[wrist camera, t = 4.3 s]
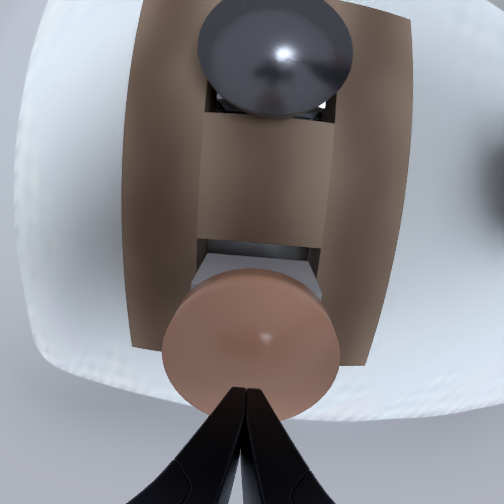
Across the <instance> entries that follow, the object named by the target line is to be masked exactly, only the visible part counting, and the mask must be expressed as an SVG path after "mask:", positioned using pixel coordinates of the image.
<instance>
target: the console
mask: <svg viewBox="0 0 504 504" xmlns="http://www.w3.org/2000/svg"><path fill="white" fill-rule="evenodd" d="M221 1H222V0H143V4H142V9H141V13H140V18H139V23H138V28H137V33H136V38H135V44H134V50H133V56H132V63H131V69H130V77H129V85H128V93H127V102H126V113H125V124H124V139H123V158H122V243H123V262H124V277H125V289H126V300H127V310H128V318H129V327H130V334H131V342H132V347H137V348H143V349H149V350H155V351H161V352H162V345H163V339H164V336H165V333H166V330H167V328H168V326H169V324H170V322H171V320H172V318H173V317H174V315H175V313H176V311H177V309H178V307H179V305H180V303H181V302H182V300H183V299H184V298H185V296H186V295H187V294H188V293H189V292H190V291H191V282H192V281H193V279H194V277H195V275H196V273H197V271H198V270H199V268H200V266H201V264H202V262H203V260H204V259H205V257H206V255H207V253H208V239H214V240H227V241H239V242H251V243H263V244H275V245H287V246H298V247H308V254H307V261H308V262H309V264H310V266H311V269H312V271H313V273H314V276H315V278H316V280H317V283H318V285H319V288H320V290H321V292H322V298H321V302H322V303H323V305H324V307H325V309H326V311H327V313H328V315H329V317H330V320H331V322H332V325H333V328H334V330H335V333H336V336H337V339H338V342H339V347H340V364H339V366H365V363H366V360H367V357H368V354H369V351H370V348H371V345H372V342H373V338H374V335H375V332H376V328H377V325H378V321H379V317H380V314H381V310H382V306H383V303H384V299H385V295H386V291H387V286H388V282H389V278H390V274H391V269H392V265H393V260H394V255H395V250H396V245H397V240H398V234H399V229H400V223H401V217H402V210H403V204H404V197H405V189H406V182H407V173H408V164H409V153H410V141H411V126H412V102H413V59H412V37H411V22H410V19H407V18H404V17H401V16H398V15H394V14H391V13H388V12H384V11H381V10H377V9H374V8H370V7H366V6H362V5H358V4H354V3H349V2H344V1H340V0H324V1H325V2H326V3H328V4H329V5H330V6H331V7H332V8H333V9H334V10H335V11H336V12H337V13H338V14H339V15H340V17H341V18H342V19H343V21H344V23H345V24H346V26H347V28H348V30H349V33H350V36H351V39H352V44H353V62H352V66H351V70H350V73H349V75H348V77H347V79H346V81H345V82H344V84H343V85H342V87H341V88H340V89H339V90H338V91H337V92H336V93H335V94H334V95H333V96H332V97H331V98H329V99H328V100H327V101H326V102H325V108H324V109H323V110H322V121H321V122H320V121H312V120H305V119H296V118H286V119H268V118H261V117H257V116H253V115H250V114H236V113H216V108H217V92H216V90H215V89H214V88H213V86H212V85H211V83H210V82H209V81H208V79H207V77H206V76H205V74H204V72H203V70H202V68H201V65H200V61H199V58H198V49H197V48H198V37H199V33H200V30H201V27H202V25H203V23H204V21H205V19H206V17H207V16H208V14H209V13H210V12H211V11H212V9H213V8H214V7H215V6H216V5H217V4H218V3H220V2H221Z"/></svg>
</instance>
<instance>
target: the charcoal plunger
mask: <svg viewBox="0 0 504 504" xmlns="http://www.w3.org/2000/svg"><path fill="white" fill-rule="evenodd" d="M197 49H198V58H199V61H200V65H201V68H202V70H203V72H204V74H205V76H206V77H207V79H208V81H209V82H210V83H211V85H212V86H213V88H214V89H215V90H216V92H217V100H218V101H219V102H220V103H221V105H222V106H223V107H224V109H225V110H226V111H239V112H245V113H247V114H250V115H253V116H257V117H261V118H268V119H286V118H293V117H306V118H313V117H314V116H315V115H317V114H318V113H319V112H321V111H322V110H323V109H324V108H325V102H326V101H327V100H328V99H329V98H331V97H332V96H333V95H334V94H335V93H336V92H337V91H338V90H339V89H340V88H341V87H342V85H343V84H344V82H345V81H346V79H347V77H348V75H349V73H350V70H351V66H352V62H353V44H352V39H351V36H350V33H349V30H348V28H347V26H346V24H345V23H344V21H343V19H342V18H341V17H340V15H339V14H338V13H337V12H336V11H335V10H334V9H333V8H332V7H331V6H330V5H329V4H328V3H326V2H325V1H324V0H222V1H221V2H220V3H218V4H217V5H216V6H215V7H214V8H213V9H212V11H211V12H210V13H209V14H208V16H207V17H206V19H205V21H204V23H203V25H202V27H201V30H200V33H199V37H198V48H197Z"/></svg>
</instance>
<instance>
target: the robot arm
mask: <svg viewBox="0 0 504 504" xmlns="http://www.w3.org/2000/svg"><path fill="white" fill-rule="evenodd" d="M240 450H241V455H240ZM240 456H241V475H242V489H243V503H244V504H335V503H334V501H333V500H332V499H331V498H330V497H329V496H328V494H327V493H326V492H325V491H324V489H323V488H322V486H321V485H320V484H319V482H318V481H317V479H316V478H315V476H314V474H313V473H312V472H311V471H309V470H310V469H309V467H308V465H307V464H306V462H305V461H304V459H303V458H302V456H301V454H300V453H299V451H298V450H297V448H296V446H295V445H294V443H293V442H292V440H291V439H290V437H289V435H288V434H287V432H286V430H285V429H284V427H283V425H282V424H281V422H280V420H279V419H278V417H277V415H276V414H275V412H274V410H273V409H272V407H271V405H270V403H269V402H268V400H267V398H266V397H265V395H264V393H263V391H262V390H261V389H258V388H247V390H246V388H244V387H235V386H233V387H231V388H230V390H229V391H228V392H227V394H226V395H225V396H224V397H223V399H222V400H221V401H220V403H219V404H218V405H217V407H216V408H215V409H214V410H213V412H212V413H211V414H210V415H209V417H208V418H207V419H206V421H205V422H204V423H203V424H202V425H201V427H200V428H199V429H198V430H197V432H196V433H195V434H194V435H193V436H192V438H191V439H190V440H189V441H188V443H187V444H186V445H185V446H184V447H183V449H182V450H181V451H180V452H179V453H178V455H177V456H176V457H175V459H174V460H172V461H171V463H170V464H169V465H168V466H167V467H166V468H165V470H164V471H163V472H162V473H161V474H160V475H159V476H158V477H157V478H156V479H155V480H154V481H153V482H152V483H151V484H150V485H148V486H147V487H146V488H145V489H144V490H143V491H142V492H140V493H139V494H138V495H137V496H135V497H134V498H133V499H132V500H130V501H129V502H128V503H126V504H228V502H229V498H230V494H231V490H232V486H233V482H234V478H235V474H236V470H237V466H238V462H239V457H240Z"/></svg>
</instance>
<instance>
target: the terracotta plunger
mask: <svg viewBox="0 0 504 504" xmlns="http://www.w3.org/2000/svg"><path fill="white" fill-rule="evenodd" d="M321 298H322V292H321V290H320V288H319V285H318V283H317V280H316V278H315V276H314V273H313V271H312V269H311V266H310V264H309V262H308V261H299V260H287V259H275V258H263V257H251V256H239V255H227V254H215V253H207V255H206V257H205V259H204V260H203V262H202V264H201V266H200V268H199V270H198V271H197V273H196V275H195V277H194V279H193V281H192V282H191V291H190V292H189V293H188V294H187V295H186V296H185V298H184V299H183V300H182V302H181V303H180V305H179V307H178V309H177V311H176V313H175V315H174V317H173V318H172V320H171V322H170V324H169V326H168V328H167V330H166V333H165V336H164V339H163V345H162V359H163V364H164V368H165V371H166V374H167V376H168V378H169V380H170V382H171V383H172V385H173V386H174V388H175V389H176V391H177V392H178V393H179V394H180V395H181V396H182V397H183V398H184V399H185V400H186V401H187V402H189V403H190V404H191V405H193V406H194V407H196V408H197V409H199V410H201V411H202V412H204V413H206V414H208V415H210V414H211V413H212V412H213V410H214V409H215V408H216V407H217V405H218V404H219V403H220V401H221V400H222V399H223V397H224V396H225V395H226V394H227V392H228V391H229V390H230V388H231V387H233V386H235V387H244V388H246V390H247V388H258V389H261V390H262V391H263V393H264V395H265V397H266V398H267V400H268V402H269V403H270V405H271V407H272V409H273V410H274V412H275V414H276V415H277V417H278V419H279V420H280V421H281V420H285V419H288V418H291V417H293V416H296V415H298V414H300V413H302V412H304V411H305V410H307V409H308V408H310V407H311V406H313V405H314V404H315V403H317V402H318V401H319V400H320V399H321V398H322V397H323V396H324V395H325V394H326V392H327V391H328V390H329V388H330V387H331V385H332V383H333V382H334V380H335V378H336V375H337V372H338V369H339V364H340V347H339V342H338V339H337V336H336V333H335V330H334V328H333V325H332V322H331V320H330V317H329V315H328V313H327V311H326V309H325V307H324V305H323V303H322V302H321Z"/></svg>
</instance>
